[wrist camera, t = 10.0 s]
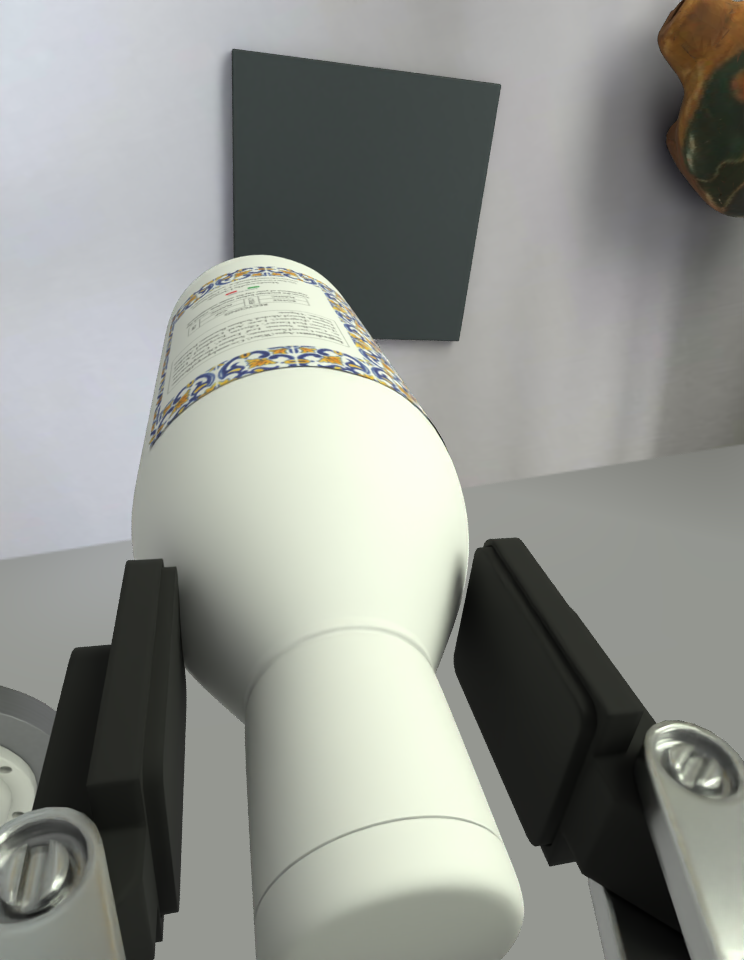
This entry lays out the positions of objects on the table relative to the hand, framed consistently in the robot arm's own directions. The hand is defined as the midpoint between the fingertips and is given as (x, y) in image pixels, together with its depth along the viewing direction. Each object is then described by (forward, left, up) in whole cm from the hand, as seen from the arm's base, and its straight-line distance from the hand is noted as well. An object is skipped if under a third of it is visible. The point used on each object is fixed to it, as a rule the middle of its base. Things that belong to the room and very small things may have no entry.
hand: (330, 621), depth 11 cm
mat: (+3, -6, -30) cm, 30 cm away
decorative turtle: (+10, -27, -30) cm, 42 cm away
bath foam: (0, 0, -15) cm, 15 cm away
